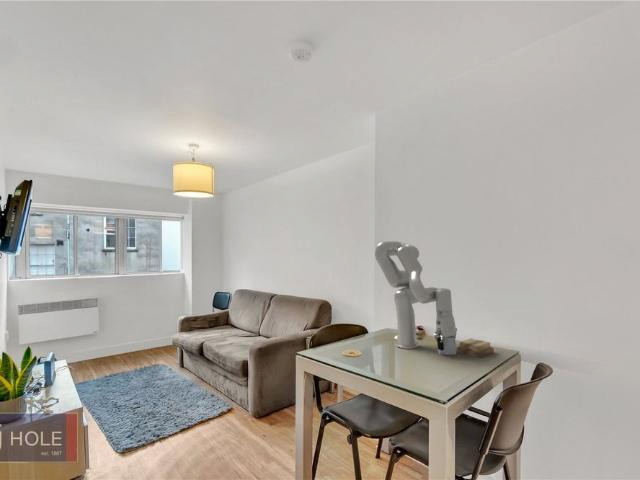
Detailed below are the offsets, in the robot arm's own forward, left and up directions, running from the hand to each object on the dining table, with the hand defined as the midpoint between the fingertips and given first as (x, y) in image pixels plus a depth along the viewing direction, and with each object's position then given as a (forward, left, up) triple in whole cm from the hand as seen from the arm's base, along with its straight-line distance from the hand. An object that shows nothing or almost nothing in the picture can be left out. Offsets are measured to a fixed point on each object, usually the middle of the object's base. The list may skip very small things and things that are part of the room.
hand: (446, 347), depth 161 cm
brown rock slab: (+8, +12, -3) cm, 15 cm away
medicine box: (0, 0, -3) cm, 3 cm away
